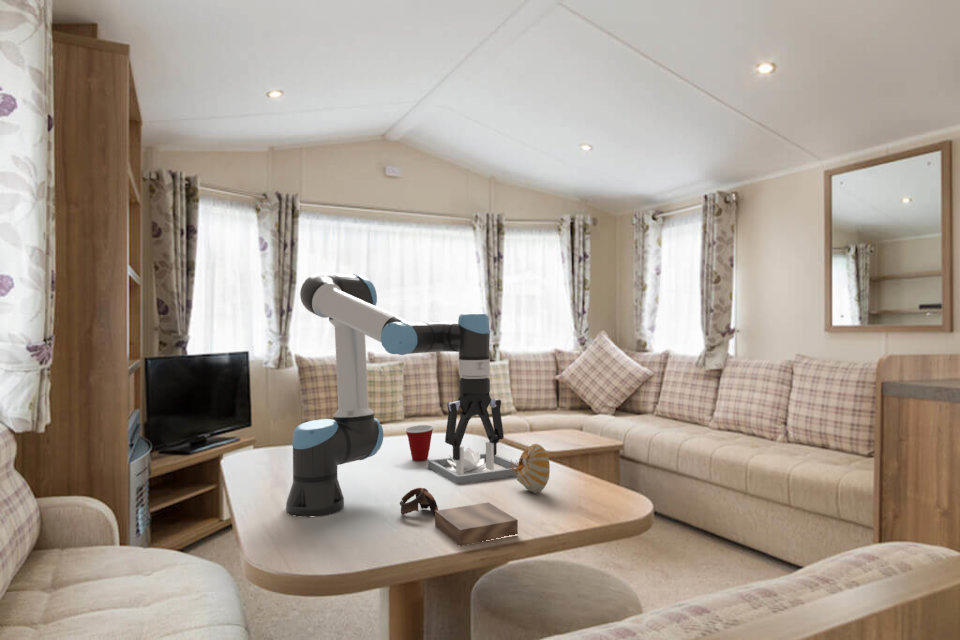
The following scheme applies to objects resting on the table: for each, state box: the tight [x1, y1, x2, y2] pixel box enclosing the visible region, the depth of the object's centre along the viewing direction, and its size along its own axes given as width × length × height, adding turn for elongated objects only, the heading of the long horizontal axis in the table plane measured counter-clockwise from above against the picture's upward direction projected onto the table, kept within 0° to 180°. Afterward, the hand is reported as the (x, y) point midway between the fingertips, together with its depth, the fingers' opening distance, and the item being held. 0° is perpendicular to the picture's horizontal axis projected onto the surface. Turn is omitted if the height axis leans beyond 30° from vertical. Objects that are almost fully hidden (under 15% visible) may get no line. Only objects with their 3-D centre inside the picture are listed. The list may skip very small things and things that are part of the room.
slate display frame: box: [427, 452, 519, 485], centre depth 202 cm, size 25×24×2 cm
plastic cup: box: [404, 424, 435, 462], centre depth 219 cm, size 11×11×12 cm
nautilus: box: [510, 443, 551, 494], centre depth 179 cm, size 8×22×15 cm, turn 24°
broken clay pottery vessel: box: [399, 487, 439, 515], centre depth 156 cm, size 12×9×8 cm
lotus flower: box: [447, 446, 488, 475], centre depth 199 cm, size 14×15×9 cm
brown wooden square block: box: [434, 502, 519, 547], centre depth 143 cm, size 15×15×5 cm
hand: (475, 470), depth 143 cm, fingers open, 7 cm apart
